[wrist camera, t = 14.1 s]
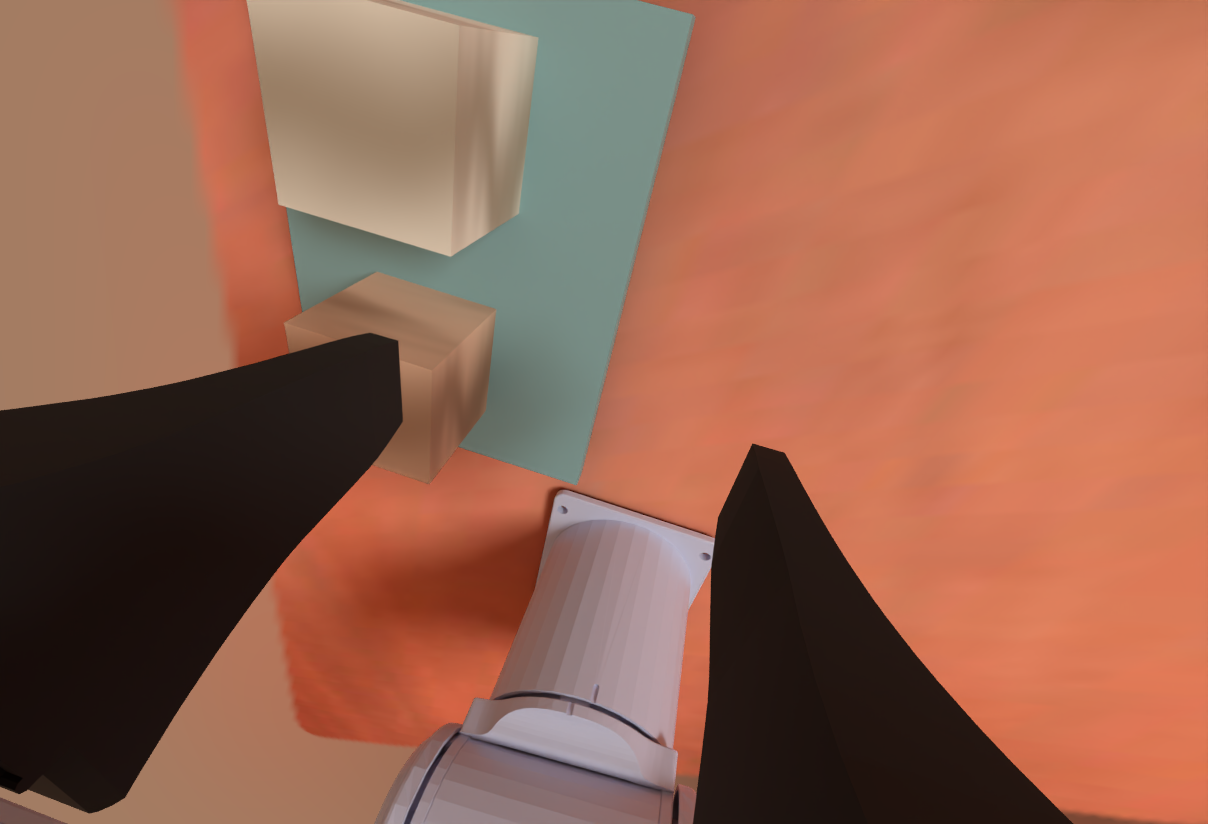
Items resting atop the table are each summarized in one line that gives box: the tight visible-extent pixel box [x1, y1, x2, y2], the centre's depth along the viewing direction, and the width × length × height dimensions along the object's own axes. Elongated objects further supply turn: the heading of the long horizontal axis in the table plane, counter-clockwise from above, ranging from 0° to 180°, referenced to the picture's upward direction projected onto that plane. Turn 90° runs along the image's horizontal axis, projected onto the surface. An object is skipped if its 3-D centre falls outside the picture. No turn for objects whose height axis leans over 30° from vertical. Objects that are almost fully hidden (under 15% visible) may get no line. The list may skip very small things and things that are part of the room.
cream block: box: [247, 0, 538, 257], centre depth 13 cm, size 4×4×4 cm
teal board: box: [286, 0, 696, 485], centre depth 18 cm, size 16×12×2 cm
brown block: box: [284, 272, 496, 484], centre depth 18 cm, size 4×4×4 cm
